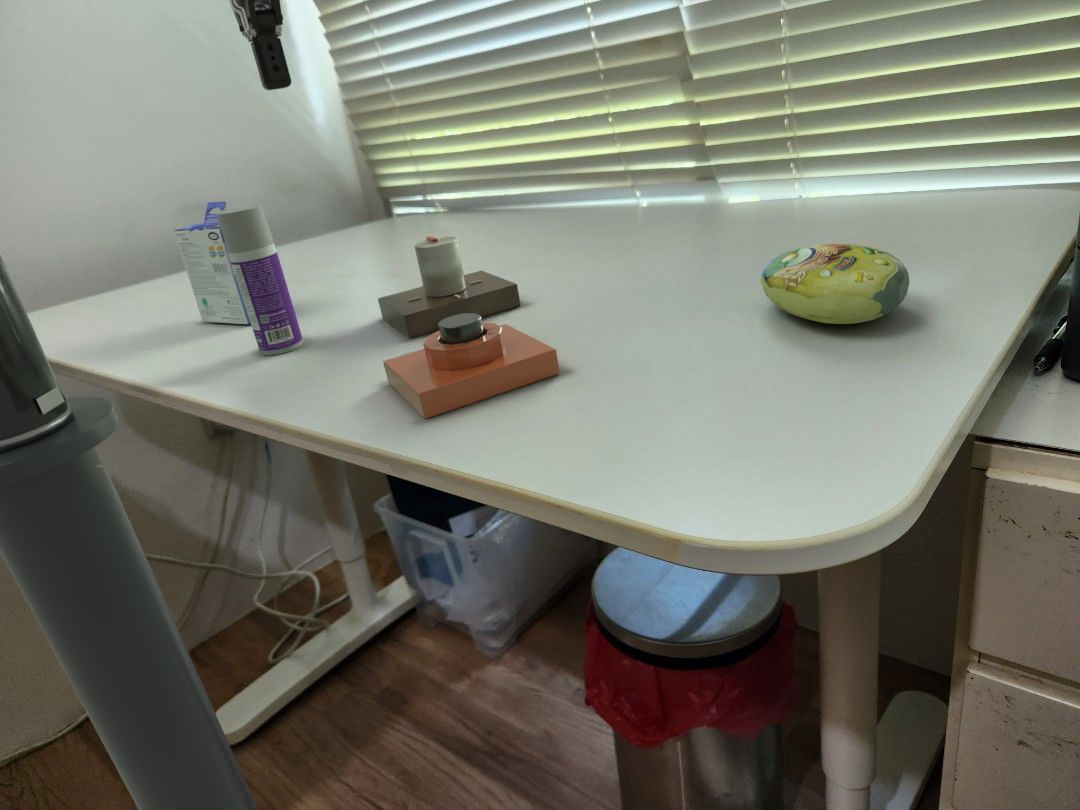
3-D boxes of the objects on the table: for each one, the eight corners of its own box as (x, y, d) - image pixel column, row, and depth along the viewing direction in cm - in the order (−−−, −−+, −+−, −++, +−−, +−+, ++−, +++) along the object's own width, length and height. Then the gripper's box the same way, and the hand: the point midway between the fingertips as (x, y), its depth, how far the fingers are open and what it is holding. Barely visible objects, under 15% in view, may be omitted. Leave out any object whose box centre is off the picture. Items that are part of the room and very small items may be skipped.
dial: (472, 289, 82) (461, 236, 79) (433, 299, 80) (421, 246, 78) (457, 282, 86) (447, 231, 83) (419, 292, 84) (408, 241, 82)
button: (451, 350, 60) (446, 330, 60) (436, 340, 63) (432, 321, 63) (491, 338, 62) (487, 318, 61) (475, 329, 65) (471, 310, 64)
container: (311, 338, 83) (271, 201, 77) (290, 353, 79) (246, 210, 73) (274, 341, 84) (232, 207, 78) (251, 356, 80) (205, 216, 74)
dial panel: (409, 338, 77) (403, 314, 76) (382, 319, 86) (377, 297, 85) (520, 305, 82) (516, 282, 81) (485, 290, 90) (481, 268, 89)
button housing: (425, 419, 58) (413, 371, 56) (388, 383, 66) (377, 341, 64) (560, 373, 62) (553, 328, 60) (509, 345, 70) (502, 305, 69)
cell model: (805, 321, 57) (736, 220, 68) (811, 387, 63) (746, 284, 73) (946, 270, 56) (853, 175, 67) (939, 342, 62) (854, 244, 72)
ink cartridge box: (284, 311, 96) (250, 197, 90) (250, 326, 92) (211, 207, 86) (236, 309, 102) (201, 201, 96) (201, 323, 97) (162, 211, 92)
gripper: (156, -130, 60) (225, 99, 67) (159, -190, 49) (242, 91, 56) (250, -134, 63) (307, 86, 70) (274, -193, 52) (339, 76, 59)
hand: (278, 88), depth 63 cm, fingers closed
